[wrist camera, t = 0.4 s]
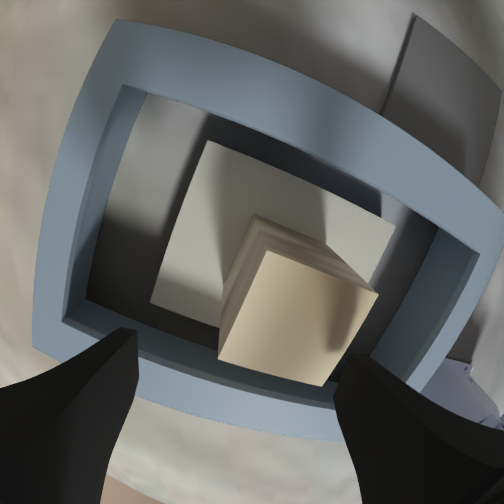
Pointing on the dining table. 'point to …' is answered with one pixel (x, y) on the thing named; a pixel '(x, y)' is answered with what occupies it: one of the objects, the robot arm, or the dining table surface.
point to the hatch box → (238, 218)
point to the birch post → (290, 305)
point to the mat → (444, 100)
